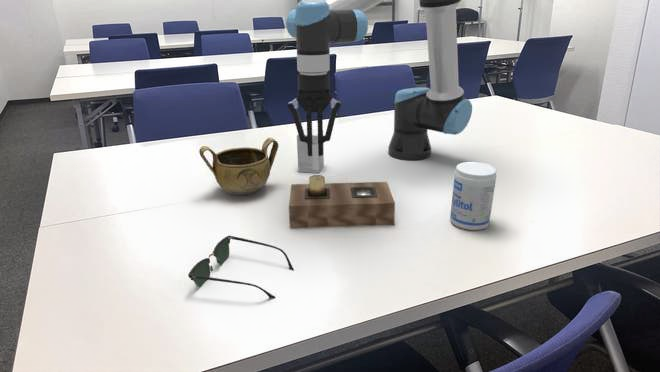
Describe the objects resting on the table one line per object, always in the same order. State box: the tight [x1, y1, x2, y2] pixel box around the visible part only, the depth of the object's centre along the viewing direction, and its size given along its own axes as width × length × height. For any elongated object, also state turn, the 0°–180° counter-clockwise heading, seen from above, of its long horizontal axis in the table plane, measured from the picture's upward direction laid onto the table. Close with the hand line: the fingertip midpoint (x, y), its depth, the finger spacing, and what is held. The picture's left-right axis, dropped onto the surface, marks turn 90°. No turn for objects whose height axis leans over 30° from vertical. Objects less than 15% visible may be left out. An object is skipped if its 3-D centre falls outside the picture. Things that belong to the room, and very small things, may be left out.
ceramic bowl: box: [198, 137, 279, 196], centre depth 138 cm, size 22×17×15 cm
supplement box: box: [296, 128, 325, 174], centre depth 154 cm, size 7×7×13 cm
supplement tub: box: [449, 161, 497, 231], centre depth 116 cm, size 10×10×15 cm
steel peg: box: [356, 190, 372, 196], centre depth 123 cm, size 4×4×6 cm
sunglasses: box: [188, 235, 295, 299], centre depth 97 cm, size 16×17×5 cm
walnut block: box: [288, 181, 396, 229], centre depth 123 cm, size 26×14×6 cm, turn 92°
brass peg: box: [308, 174, 326, 197], centre depth 121 cm, size 4×4×6 cm
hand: (315, 167), depth 119 cm, fingers closed
